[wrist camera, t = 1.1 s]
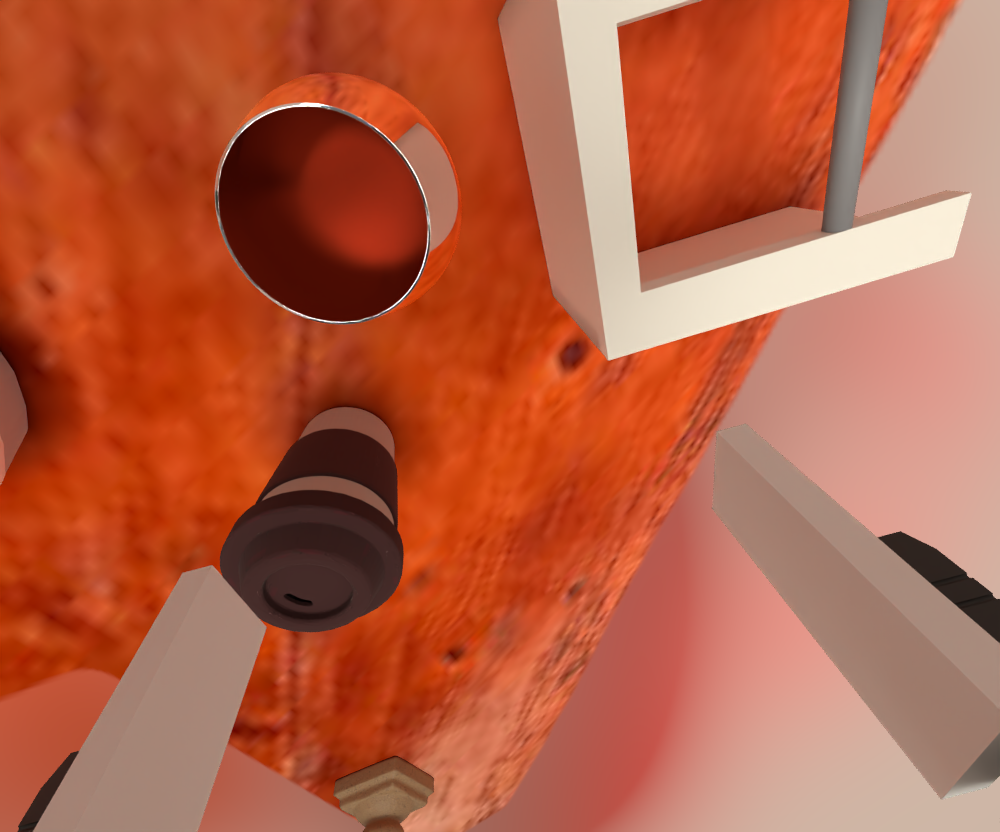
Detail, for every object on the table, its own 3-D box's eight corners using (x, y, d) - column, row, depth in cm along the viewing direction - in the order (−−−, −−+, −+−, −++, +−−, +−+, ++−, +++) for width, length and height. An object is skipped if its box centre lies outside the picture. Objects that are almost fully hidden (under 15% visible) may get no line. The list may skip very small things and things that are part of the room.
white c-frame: (497, 18, 24) (545, -78, 14) (815, -83, 24) (1098, -256, 14) (553, 295, 33) (608, 360, 23) (788, 223, 32) (953, 256, 22)
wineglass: (451, 113, 26) (479, 59, 11) (449, 256, 30) (467, 362, 15) (306, 98, 25) (111, 15, 10) (324, 250, 29) (207, 358, 14)
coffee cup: (381, 373, 34) (352, 505, 21) (428, 468, 39) (426, 620, 27) (261, 412, 34) (161, 565, 22) (323, 501, 40) (272, 668, 27)
